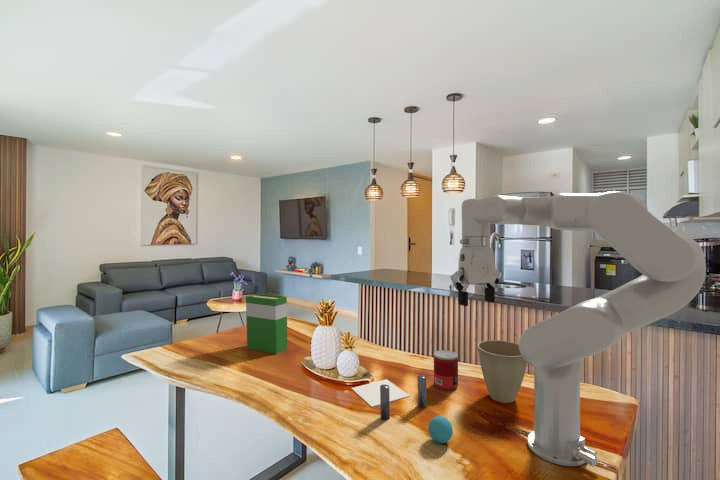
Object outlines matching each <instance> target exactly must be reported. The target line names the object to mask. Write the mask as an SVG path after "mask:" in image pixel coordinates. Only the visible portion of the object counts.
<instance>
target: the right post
mask: <svg viewBox="0 0 720 480" xmlns="http://www.w3.org/2000/svg"><path fill="white" fill-rule="evenodd" d="M427 407H428V405H427V375H424V374H419V375H417V408H419V409H427Z"/></svg>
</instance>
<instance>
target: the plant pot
mask: <svg viewBox="0 0 720 480" xmlns="http://www.w3.org/2000/svg"><path fill="white" fill-rule="evenodd" d="M477 350H478V357H479V363H480V368H481V373H482V376H483V381H484V383H485V386H486V389H487V392H488V395H489V397H490V398H491V399H492V400H493V401H495V402H499V403H502V404H511V403H513V402H515V400H516V398H517V396H518V394H519V392H520V389H521V386H522V384H523V382H524V381H523V380H524V377H525V373H526V369H527V367H528V363H527V362H526V361H525V360H524V358H523V357H522V355H521V353H520V350H519V343H516V342H512V341H507V340H498V339H494V340H493V339H490V340H482V341H480V342H479V343H478V344H477Z"/></svg>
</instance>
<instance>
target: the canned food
mask: <svg viewBox="0 0 720 480" xmlns="http://www.w3.org/2000/svg"><path fill="white" fill-rule="evenodd" d="M433 383H434V387H435V388H437V389H439V390H442V391H445V392H446V391H447V392H448V391H449V392H450V391H456V389H457V388H458V386H459V355H458V353H456V352H455V351H452V350H446V349H445V350H442V349H441V350H436V351H434V352H433Z"/></svg>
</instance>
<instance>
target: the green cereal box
mask: <svg viewBox="0 0 720 480" xmlns="http://www.w3.org/2000/svg"><path fill="white" fill-rule="evenodd" d="M287 297H288V296H285V295H276V294H275V295H273V294H265V293H256V295H254V296H253V295H252V296H249V295H246V296H245V311H246V312H245V314H246V315H245V316H246V317H245V318H246V319H245V320H246V348H247V349H248V348H249V350H254V351H259V352H264V353H269V354H274V355H278V354H280V353H282V352H284V351H287V350H288V348H289V344H288V341H289V340H288V310H287V309H288V307H287V306H288V300H287V299H288V298H287Z"/></svg>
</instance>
